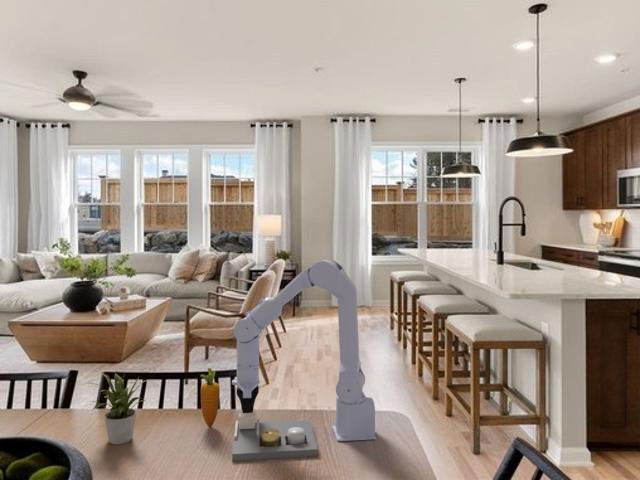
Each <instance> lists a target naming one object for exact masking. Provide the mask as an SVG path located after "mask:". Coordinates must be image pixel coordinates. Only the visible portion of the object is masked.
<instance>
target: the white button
mask: <svg viewBox="0 0 640 480" xmlns="http://www.w3.org/2000/svg"><path fill="white" fill-rule="evenodd" d="M287 443H288V444H289V446H291V445H304V444H305V443H306V441H305V430H304V429H303V428H300V427H293V428H290V429H289V430H288V442H287Z"/></svg>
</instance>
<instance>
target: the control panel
mask: <svg viewBox="0 0 640 480" xmlns="http://www.w3.org/2000/svg"><path fill="white" fill-rule="evenodd" d="M293 427H300V428H303V429H304V430H305V444H302V445H287V443H288V430H289V429H290V428H293ZM265 429H277V430H278V431H279V443H280V445H277V446H273V447H266V446H261V445H262V431H263V430H265ZM231 454H232V455H231V456H232V457H231V460H232V462H235V461H237V462H238V461H250V460H251V461H253V460H269V459H284V458H287V459H288V458H301V457H318V456H319V448H318V444H317V441H316V437H315V432H314V430H313V426H312V423H311V420H310V419H304V420H303V419H302V420H301V419H300V420H283V421H282V420H281V421H279V420H278V421H261V422H260V419H256V422H255V429H239V419H238V420H235V426H234V435H233V445H232V453H231Z"/></svg>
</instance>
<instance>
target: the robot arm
mask: <svg viewBox="0 0 640 480" xmlns="http://www.w3.org/2000/svg"><path fill="white" fill-rule="evenodd" d="M314 286H316V287H318V288H321V289H323V290H326V291H328V292H329V293H331V294H332V295H333V296H334V297H335V298H336V299H337V315H338V316H337V320H338V339H339V341H338V343H339V361H340V362H339V370H338V381H337V383H336V386H335V393H336V398H335V403H336V404H335V405H336V411H335V415H336V416H335V422H336V423H335V425H332V430H333V431H332V432H333V433H334V436H335V438H336V441H337V442H347V441H349V442H350V441H364V440H365V441H367V440H376V437H377V436H376V407H375V402H374V398H373V397H370V396H369V397H367V396H366V395H365V393H364V392H363V388H364V385H365V383H366V376H365V374H364V372H363V370H362V366H361V365H362V363H361V360H360V345H359V342H360V341H359V325H358V324H359V322H358V321H359V317H358V299H357V298H358V294H357V286H356V285H355V284H354V282H353V281H352V280H351V278H350V277H349V275H348V274H347V272H346V271H345V268H344V266H342V265H341V264H340V263H339V262H338V261H336V260H334V259H332V258H323V259H321V260H319V261H316V262H314V263H313V264H312V265H311V266H310V267H307V268H306V269H305V270H303V271H301V272H300V273H299V274H298V275H296V276H295V277H294V278H293V279H292V280H291V281H290V282H289V283H288V284H287V285H285V287H284V288H282V289H281V290H280V292H279V293H277V294H276V295H275V296H274V297H271V296H270V297H269V296H267V297H265V298H263V297H262V298H261V299H260V300H259V301H258V302H257V303H258V304H257V305H256V306H255V307H254V308H253V309H252V310H251V311H249V310H248V311H247V312H245V316H246V317H244V318H242V319H239V320H237V322H236V323H235V324H234V327H233V335H234V337H235V338H236V379H232V381H231V385H233V386H237V387H236V395H237V397H238V399H239V402H240V405H241V413H254V407H255V402H256V399H257V396H258V395H259V392H260V391H259V389H260V383H261V381H260V345H259V344H260V343H259V342H260V335H261V333H262V331H263V330H265V329H266V328H267V327H268V326H270V325H271V324H272V323H273V322H274V321H275V320H277V318H279V317H281V316H282V313H283V307H284V306H285V305H286V304H288V302H289V301H291V300H292V299H293V298H295V297H296V295H298V294H299V293H300V292H302V291H303V290H304V289H310V288H313V287H314Z"/></svg>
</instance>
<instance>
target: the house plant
mask: <svg viewBox="0 0 640 480" xmlns="http://www.w3.org/2000/svg"><path fill="white" fill-rule="evenodd" d="M125 374H126V373H124V375H123V376H122V377H121V376H120V375H118V374H117V373H116V372H115V373H114V385H113V383H112V380H111V378H110V376H109V375H107V374H105V373H103V372H101V375H102V376H104V377H105V378H106V380H107V383H108V386H109V388H110V390H111V391H110V390H109V389H107V390H106V389H105V388H103V387H102V388H103V389H101V388H100V386H99V384H97V383H95V385H97V386H94V383H89V382H88V383H86V385H90V387H94V388H98V389H100V392H103V394H105V396H103V397H104V398H105V399H106V400H108V401H109V402H110V404H107V403H105V402H101V403H100V402H99V401H97V400H89V401H88V402H93V403H94V402H95V403H97V404H95V405H94V406H93V408H92V410H95V409H97V408H99V407H101V406H102V408H105V409H107V410H108V412H106V413H105V414H104V416H103V417H104V421H105V428H106V433H107V438H108V442H109V444H111V445H122V444H126V443H128V442H130V441H131V440H132V439H133V434H134V429H135V422H136V416H137V410H135V409H134V407H135V406H136V405H137V404H138V403H140V402H147V400H146V399H143V398H142V397H140V396H139V397H138V396H136V397H133V398H131V397H132V395H134V393H135V392H136V391H137V390H138V388H139V387H140V386H141V385H142V384H143V383H145V382H147V381H149V380H150V378H148V379H145V380H143V381H142V382H140V384H138V386H137V387H136V388H135V389H134V387H135V385H136V384H137V382H138V380H139V379H140V378H139V377H140V376H138V377H137V378H136V379H135V382H134V383H133V385H132V387H131V389H129V387H126V388H125V385H124V381H123V380H124V377H125ZM91 385H93V386H91ZM98 386H99V387H98ZM139 399H141V400H139ZM136 400H138V402H136V403H134V402H135V401H136ZM133 403H134V405H133ZM104 405H108V406H109V407H105V406H104ZM132 405H133V406H132ZM131 406H132V407H131ZM130 407H131V408H130ZM108 408H109V409H108Z"/></svg>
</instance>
